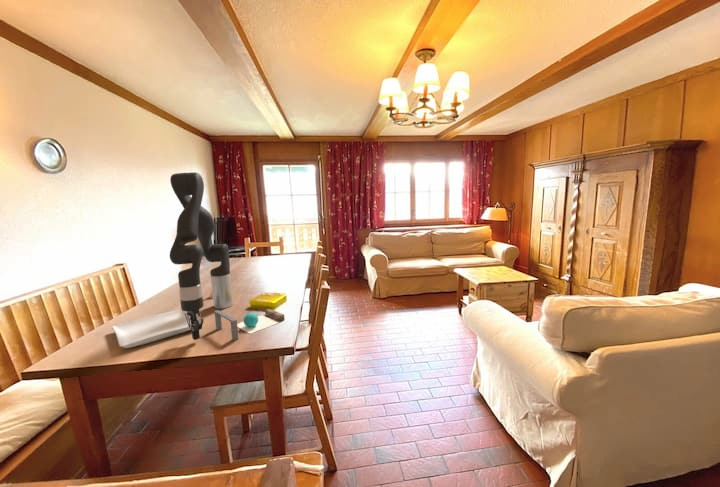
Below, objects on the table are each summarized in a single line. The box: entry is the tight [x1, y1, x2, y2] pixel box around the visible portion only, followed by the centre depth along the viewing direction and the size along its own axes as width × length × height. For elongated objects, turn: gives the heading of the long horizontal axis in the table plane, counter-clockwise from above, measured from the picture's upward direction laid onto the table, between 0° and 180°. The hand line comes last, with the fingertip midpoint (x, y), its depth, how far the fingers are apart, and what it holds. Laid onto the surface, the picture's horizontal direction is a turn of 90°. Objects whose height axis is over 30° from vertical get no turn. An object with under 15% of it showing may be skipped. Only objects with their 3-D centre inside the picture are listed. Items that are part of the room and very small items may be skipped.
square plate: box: [111, 308, 192, 349], centre depth 125 cm, size 27×27×4 cm
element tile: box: [248, 291, 288, 311], centre depth 155 cm, size 15×15×5 cm
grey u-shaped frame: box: [214, 309, 239, 341], centre depth 120 cm, size 17×2×8 cm, turn 49°
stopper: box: [264, 309, 285, 322], centre depth 137 cm, size 13×2×2 cm, turn 49°
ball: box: [243, 312, 259, 327], centre depth 127 cm, size 6×6×6 cm
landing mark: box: [237, 314, 280, 335], centre depth 130 cm, size 14×14×1 cm
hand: (196, 338), depth 114 cm, fingers closed
